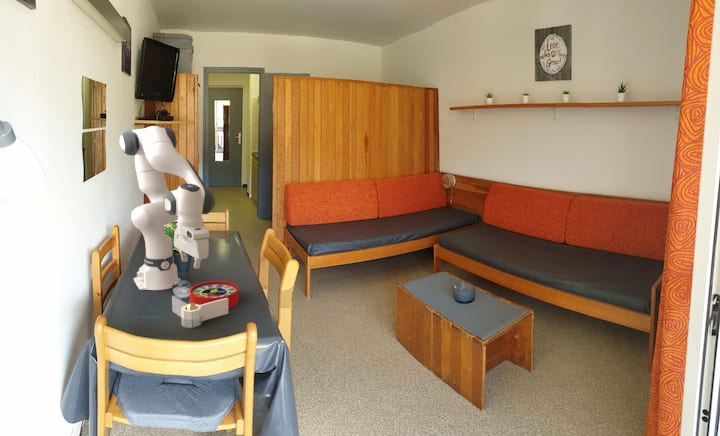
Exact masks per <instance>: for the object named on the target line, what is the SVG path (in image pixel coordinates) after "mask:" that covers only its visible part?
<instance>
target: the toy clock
mask: <svg viewBox="0 0 720 436" xmlns="http://www.w3.org/2000/svg"><path fill="white" fill-rule="evenodd" d="M239 290H240V288H239V285H237V284H236V283H234V282H229V281H225V280H223V281H222V280H221V281H220V280H216V281H215V280H214V281H213V280H212V281H211V280H210V281H206V282H201V283H198V284H195V285H193V286H192V287H190V289H189V303H191V302H193V303H195V304H199V305H202V304H205V303H209V302H213V301H216V300H220V299H224V298H228V309H231V308H233V307H234V306H235V307H236V306H237V304H238V303H239V299H240V298H239Z"/></svg>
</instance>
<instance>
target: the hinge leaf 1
mask: <svg viewBox="0 0 720 436" xmlns="http://www.w3.org/2000/svg"><path fill="white" fill-rule="evenodd" d="M187 304H188V303H186V302H185V301H183V300H182V299H181V298H179V297H177V296H176V295H172V296H171V305H172V306H171V307H172V309H171V310H172V313H174V314H176V315H177V316H178V317H180V319H181V320H180V321H181V323H180V324H181V325H180V326H182V327H183V328H187V329H195V328H197V327H200V326H201V325H202V323H203V321H202V315H201V317H200V318H197V319H194V320H193V319H192V320H185V319H183V318H182V317H181V308H182V307H183V306H185V305H187Z"/></svg>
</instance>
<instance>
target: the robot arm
mask: <svg viewBox="0 0 720 436" xmlns="http://www.w3.org/2000/svg"><path fill="white" fill-rule="evenodd" d="M177 139H178V138H177V135H176V133H175V131H174V129H172V128H171V127H166V126H162V127H161V126H158V125H151V126H147V127H144V128H136V129H127V130H125V131H122V132H121V133H120V137H119V145H120V148H121V150H122V151H123V153H124V154H126V155H127V156H133V157H134V167H135V173H136V179H137V184H138V189H139V190H140V192H142V193H143V194H145V195H146V196H147V198H148V199H149V201H150V202H148V203H144V204H141V205H139V206H137V207H136V208H134V209H133V210H132V211H131V212H130V213H131V214H130V220H131V223H132V224H133V226H134V228H137V230H139V231H140V232H141V234H142V235H143V239H144V244H145V245H144V246H145V247H144V248H145V255H144V256H145V257H144V260H143V261H144V263H143V264H142V265H141V266H140V267H139V268H138V271H137V272H136V277H133V281H134V283H135V285H136V287H137V288H138V290H140V291H143V290H144V291H145V290H148V291H165V290H169V289H172V288H173V287H172V286H173V284H174V283H175V282H176V281H178V280H181V278H180V277H179V276H178V268H177V264H175V263H174V261H175V257H174V254H173V245H174V247H175V248H176V249H178V250H179V253H180V256H181V257H180V258H181V261H182V262H184V263H185V262H188V260H189V259H188V258H189V257H188V255H189V256H192V257H193V258H194V262H193V268H194V269H196V270H197V269H200V268H201V262H202V261H203V260H205V259H207V258H208V257H209V252H210V248H209V247H210V243H209V237H210V234H211V233H210V231H209V230H208V228H207V227H206V225H204V219H203V215H208V214H210V212H211V211H213V209H214V208H215V206H216V199H215V198H216V197H215V196H214V194H213V192H212V190H210V189H209V188H208V187H207V185H206V184H205V183H204V182H203V180H202V178H201V177H200V175H199V174H198V172H197V170H196V168H195V167H194V166H193V164H192V163H191V162H190V160H189V159H187V158H186V157H184V156H183V155H181V154H180V153H179V152H178V151H177V150H176V148H177V145H178V144H177V143H178V140H177ZM165 174H171V175H175V176H177V177H180V178H182V179H184V181H185V182H186V183H183V184H179V186H178V187H177V189H174V190H169V187H168V185H167V181H166V177H165V176H166V175H165ZM174 222H177V223H176V225H177V226H176V229H175V230H174V235H173V238H172V237H171V236H170V235H168V234H166V231H165V228H164V227H165V225H166V226H167V225H169V224H172V223H174ZM172 239H173V240H172Z"/></svg>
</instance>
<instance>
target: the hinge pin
mask: <svg viewBox="0 0 720 436" xmlns="http://www.w3.org/2000/svg"><path fill="white" fill-rule="evenodd" d="M187 310H195V303H193V302H191V303H190V302H188V303H187Z"/></svg>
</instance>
